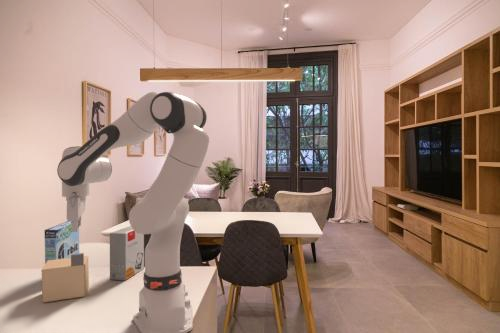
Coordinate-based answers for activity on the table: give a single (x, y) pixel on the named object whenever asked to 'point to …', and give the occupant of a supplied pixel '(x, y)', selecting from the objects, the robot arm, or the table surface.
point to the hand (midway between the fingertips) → (76, 228)
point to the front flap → (64, 280)
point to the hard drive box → (126, 253)
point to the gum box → (61, 242)
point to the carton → (68, 263)
